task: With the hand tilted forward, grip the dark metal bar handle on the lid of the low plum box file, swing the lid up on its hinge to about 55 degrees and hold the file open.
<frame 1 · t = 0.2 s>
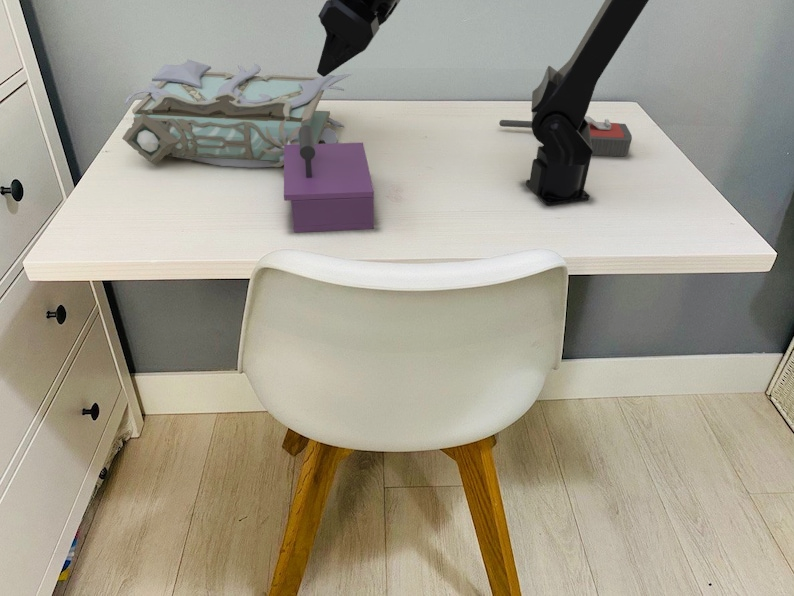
hand: (330, 62, 84), 15 cm above the table, tool tilted 30°, fingers open, 9 cm apart
walkie-talkie: (564, 144, 102), on the table
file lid: (325, 153, 80), point 7 cm above the table, hinge at 0.0°
ornate book: (246, 142, 99), on the table
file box: (330, 202, 85), on the table
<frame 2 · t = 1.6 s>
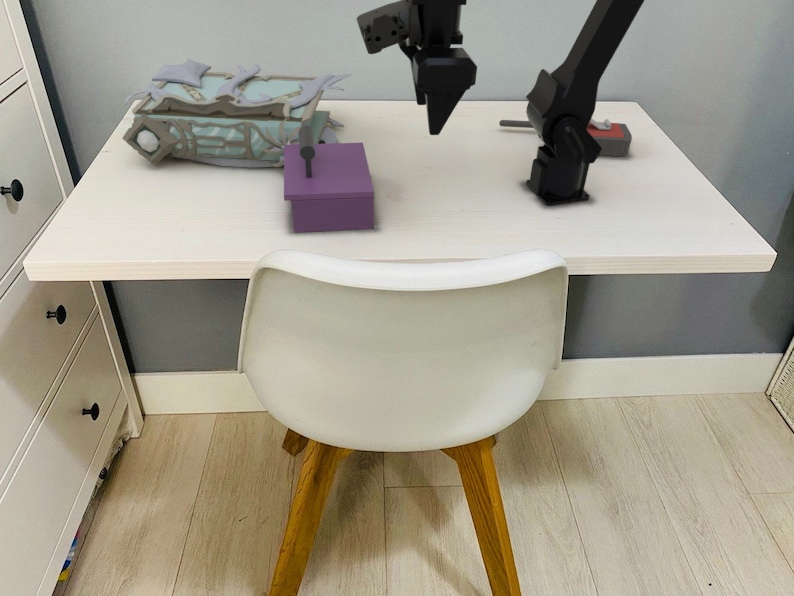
hand: (427, 118, 80), 11 cm above the table, tool pointing down, fingers open, 9 cm apart
nothing on the table moved.
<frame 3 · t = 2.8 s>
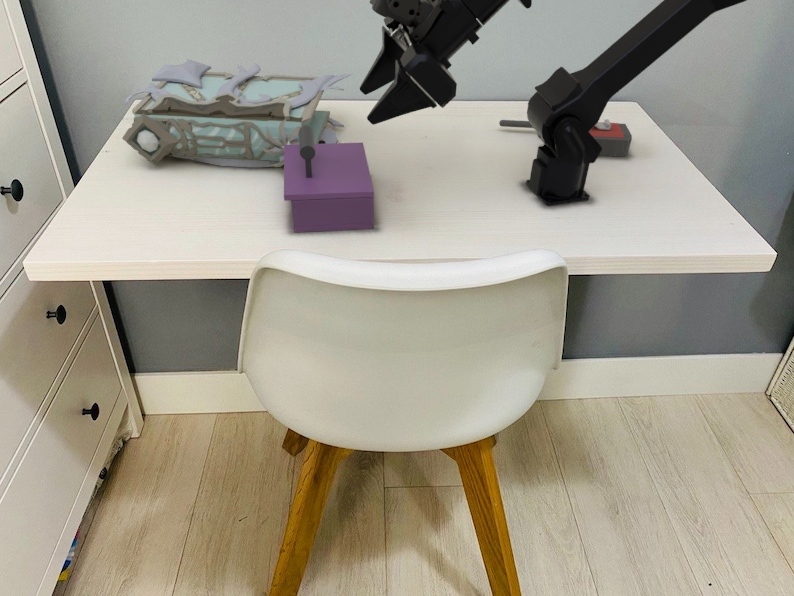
hand: (365, 106, 77), 13 cm above the table, tool tilted 45°, fingers open, 9 cm apart
nothing on the table moved.
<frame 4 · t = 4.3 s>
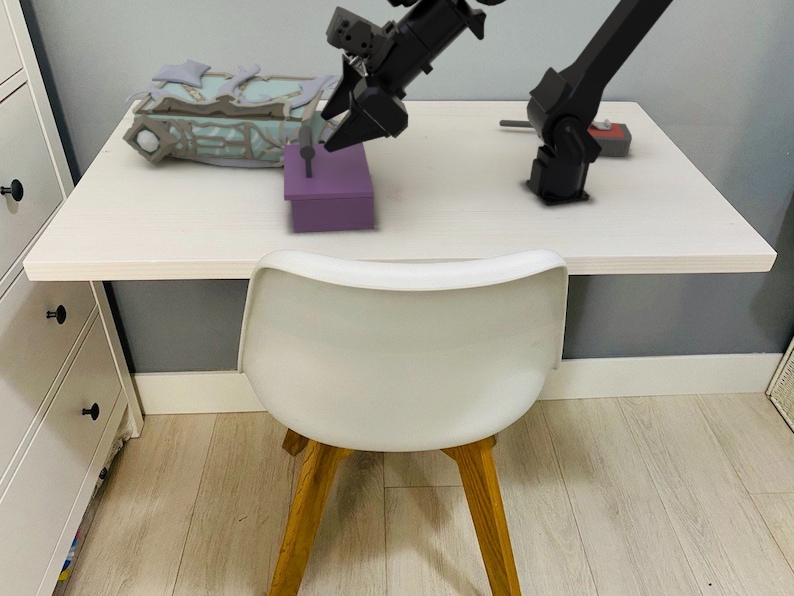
hand: (324, 133, 79), 10 cm above the table, tool tilted 45°, fingers open, 9 cm apart
nothing on the table moved.
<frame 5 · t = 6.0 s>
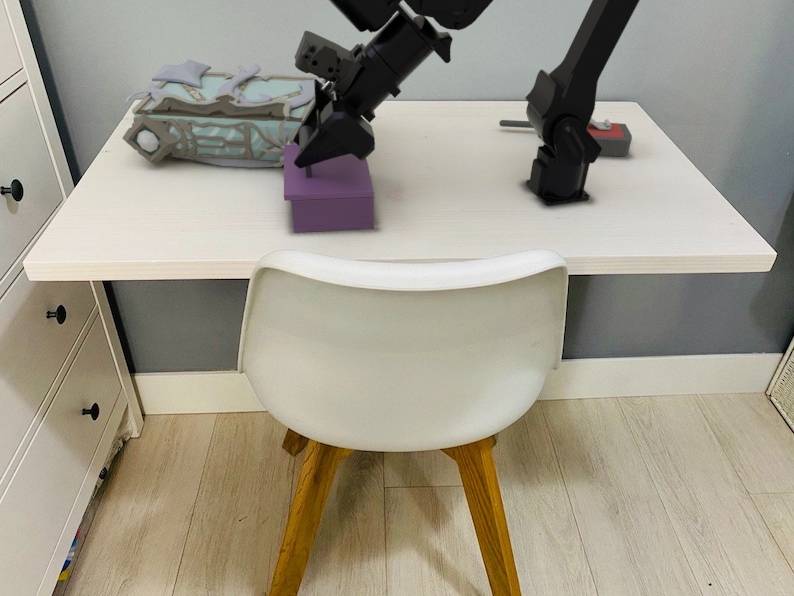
hand: (296, 153, 80), 7 cm above the table, tool tilted 45°, fingers closed on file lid, 6 cm apart
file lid: (325, 153, 80), point 7 cm above the table, hinge at 0.0°, touching gripper
everything else where it was.
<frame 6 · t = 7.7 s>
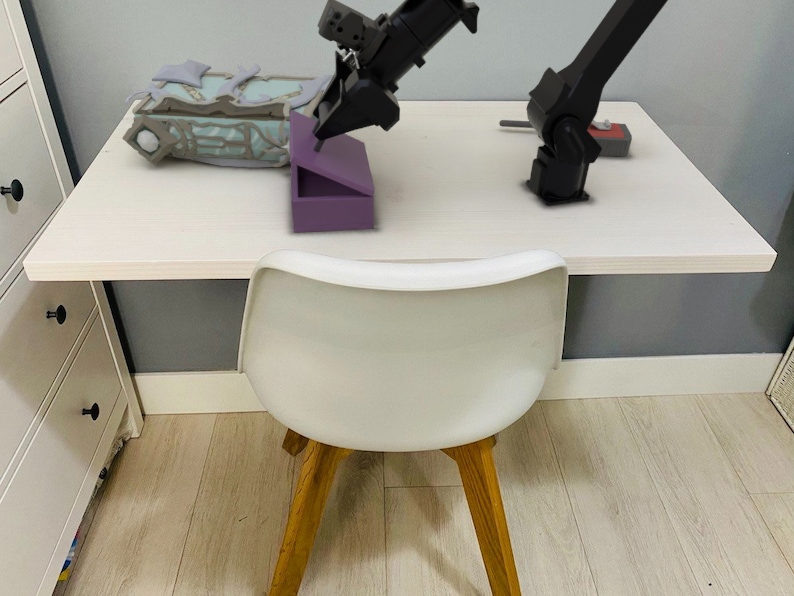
hand: (316, 126, 78), 10 cm above the table, tool tilted 45°, fingers closed on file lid, 6 cm apart
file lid: (337, 136, 79), point 9 cm above the table, hinge at 27.5°, touching gripper
everything else where it was.
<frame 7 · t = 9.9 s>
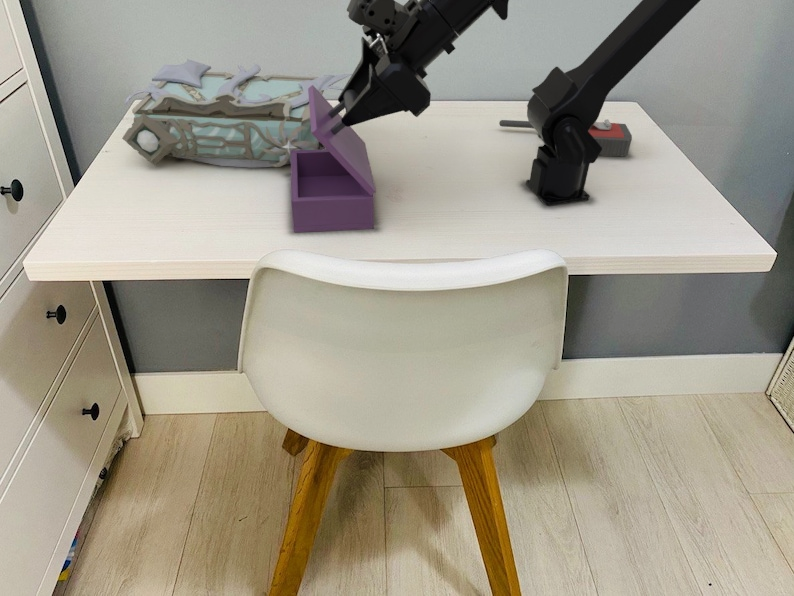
hand: (342, 112, 78), 12 cm above the table, tool tilted 45°, fingers closed on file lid, 6 cm apart
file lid: (354, 127, 79), point 10 cm above the table, hinge at 50.7°, touching gripper
everything else where it was.
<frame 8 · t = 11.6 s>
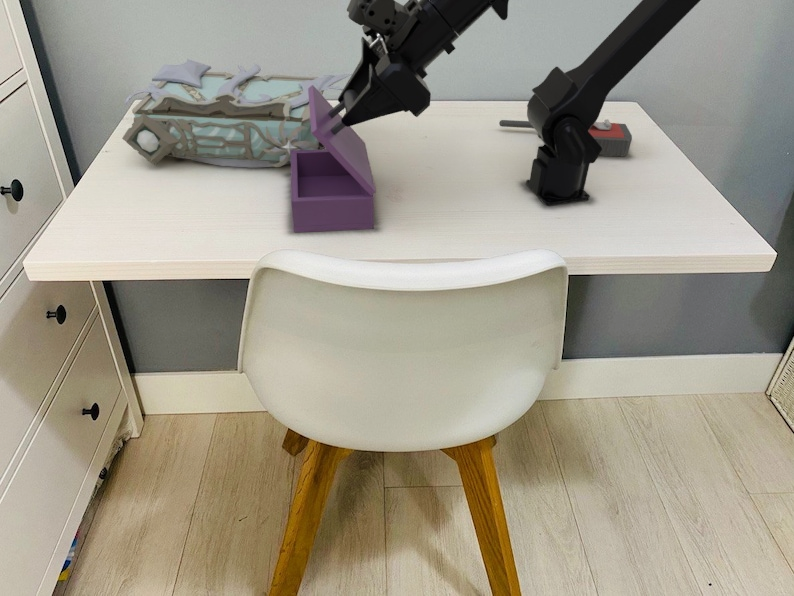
hand: (342, 112, 78), 12 cm above the table, tool tilted 45°, fingers closed on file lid, 6 cm apart
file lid: (354, 127, 79), point 10 cm above the table, hinge at 50.7°, touching gripper
everything else where it was.
at the end: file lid at +51° (first picture: +0°); the gripper is holding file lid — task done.
